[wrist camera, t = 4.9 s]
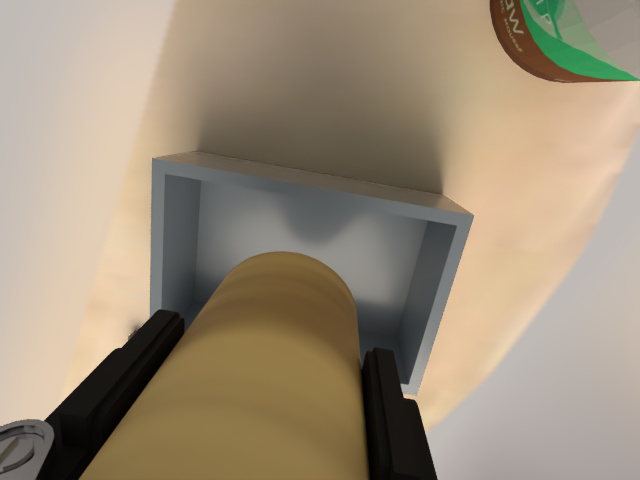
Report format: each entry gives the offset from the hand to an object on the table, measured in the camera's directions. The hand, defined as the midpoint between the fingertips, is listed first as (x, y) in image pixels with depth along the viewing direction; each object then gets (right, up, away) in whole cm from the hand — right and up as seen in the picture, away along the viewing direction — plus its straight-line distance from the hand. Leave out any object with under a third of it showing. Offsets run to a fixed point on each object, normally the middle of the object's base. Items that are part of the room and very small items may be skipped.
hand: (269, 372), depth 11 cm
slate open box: (+1, +3, +11) cm, 12 cm away
